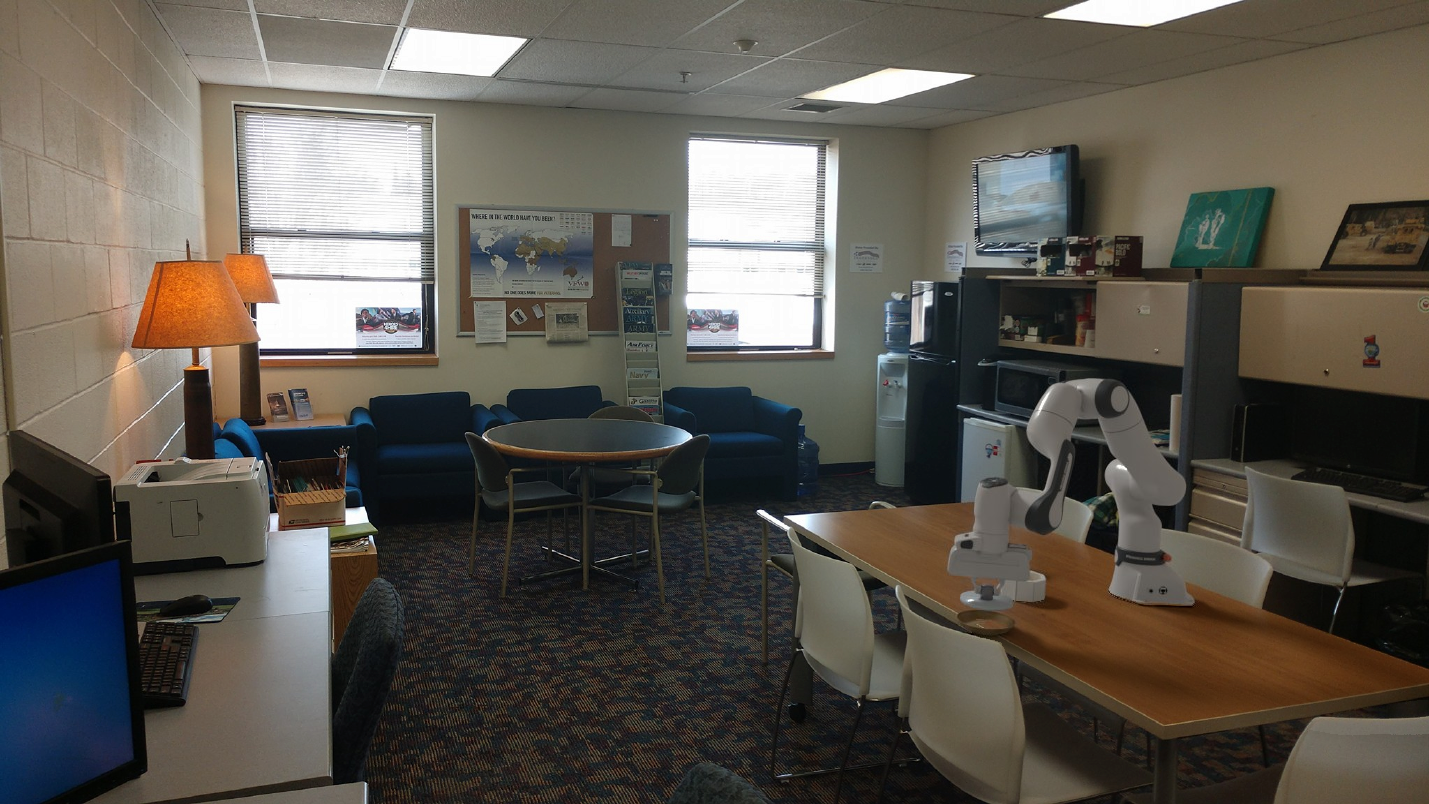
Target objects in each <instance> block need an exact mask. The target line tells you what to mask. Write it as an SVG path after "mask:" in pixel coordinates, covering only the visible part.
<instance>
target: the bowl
mask: <svg viewBox="0 0 1429 804" xmlns="http://www.w3.org/2000/svg"><path fill="white" fill-rule="evenodd" d="M1046 583H1047V577H1046V576H1045V575H1044V574H1042V573H1039V572H1036V571H1034V570H1030V578H1029V580H1028V581H1026V582H1024V581H1012V580H1005V584H1004V585H1003V587H1002V588H1001V589H1000V594H1003V595H1005V596H1008V597H1009V598H1011V599H1012V600H1014V601H1013V602H1016V601H1028V602H1034V601H1040V602H1042V601H1041V600H1044V599H1045V598H1046ZM1045 600H1046V599H1045ZM1045 600H1044V601H1045Z"/></svg>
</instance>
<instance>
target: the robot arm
mask: <svg viewBox="0 0 1429 804" xmlns="http://www.w3.org/2000/svg"><path fill="white" fill-rule="evenodd" d="M1078 419H1079V420H1097V419H1098V422H1099V423H1098V424H1099V426H1100V429H1101V431H1102V434H1103V436H1104V439H1105V441H1106V444H1107V446H1108V449H1109V451H1110V453H1111V454H1112V456H1113V457H1114V458H1116V459H1113V460H1112V461H1110V463H1109V464H1108V465H1107V467H1106V469H1105V471H1104V479H1105V480H1104V481H1105V483H1106V485H1107V486H1108V487H1109V489H1110V490H1111V492H1112V495H1113V497H1114V500H1115V503H1116V507H1117V513H1118V521H1119V522H1118V541H1117V544H1116V546H1115V549H1114V564H1115V566H1114V571H1113V576H1112V579H1111V583H1110V584H1109V585H1110V586H1109V588H1108V590H1109V591H1110V593H1112V594H1114V595H1116V596H1120V597H1122V598H1127V599H1130V600H1132V601H1136V602H1138V603H1166V604H1168V603H1169V604H1181V605H1192V604H1193V603H1195V598H1194V596H1192V595H1191V594H1190V593H1188V592H1187V585H1186V582H1185V579H1184V577H1182V576H1181V575H1180V574H1179V573H1178V572H1177V571H1176V570H1174V569H1173V568H1172V566H1170V565H1169V564H1167V563H1170V562H1171V561H1172V558H1173V556H1171V555H1170V554H1169V553H1167V552H1166V551H1164V550H1163V549H1161V541H1162V540H1161V539H1162V530H1163V529H1162V527H1163V526H1162V521H1161V519H1160V518H1159V516H1158V515H1157V514H1156V512H1155V510H1154V507H1153V505H1156V506H1165V507H1166V506H1170V507H1171V506H1174V505H1176V504H1179V503H1180V502H1181V501H1182V500H1183V498H1184V497H1185V494H1186V490H1187V483H1186V479H1185V477H1184V476H1183V475H1182V474H1181V473H1179V472H1178V471H1177V470H1176V469H1174V468H1173V467H1172V466H1171V464H1170V463H1169V462H1168V461H1167V460H1166V459H1165V457H1164V456H1163V454H1162V452H1160V450H1159V449H1158V448H1157V446H1156V444H1155V443H1154V441H1153V440H1152V437H1151V435H1150V433H1149V430H1148V428H1147V425H1146V423H1145V420H1144V418H1143V416H1142V413H1141V410H1140V408H1139V406H1138V404H1137V402H1136V400H1135V398H1134V397H1133V395H1132V393H1131V392H1130V391H1129V389H1127V386H1126V385H1125V384H1124V383H1123V382H1121V381H1120V380H1116V379H1112V378H1095V377H1094V378H1092V377H1091V378H1083V379H1082V378H1080V379H1067V380H1066V379H1065V380H1063V381H1060V382H1057V383H1053V384H1052V385H1050V386H1049V387H1048V388H1047V389H1046V391H1045V392H1044V394H1043V395H1042V396H1041V398H1040V399H1039V401H1038V403H1037V405H1036V406H1035V409H1034V410H1033V412H1032V414H1031V416H1030V418H1029V420H1028V422H1027V427H1026V437H1027V439H1028V441H1029V443H1030V444H1031V445H1032V446H1033V448H1034V449H1035V450H1037V452H1039V453H1040V454H1041V455H1043V456H1045V457H1046V458H1047V459H1050V468H1049V472H1048V475H1047V479H1046V484H1045V485H1044V486H1045V487H1044V489H1043V490H1042V491H1041V492H1033V491H1029V490H1026V489H1025V490H1024V489H1021V488H1017V487H1016V486H1015V487H1014V486H1013V485H1011V484H1010V481H1009V480H1008V479H1006V478H1003V477H1000V476H998V477H997V476H993V477H987V478H986V477H985V478H984V479H982V480H980V481H979V483H978V485H977V488H976V492H975V493H976V494H975V497H974V498H975V499H974V507H973V514H974V523H973V527H972V531H970V532H965V533H960V534H957V535H955V537H954V541H953V543H954V545H953V546H952V547H951V549H950V551H949V555H948V559H947V560H948V562H947V573H948V574H949V575H950V576H957V577H969V578H970V581H971V583H972V585H973V587H974V591H975V594H981V585H978V584H977V582H978V578H981V579H989V580H990V579H993V580H998V585H997V586H996V587H995V586H994V591H993V596H999V593H1000V594H1001V588H1002V587H1003V585H1004V584H1005V580H1012V581H1024V582H1026V581H1028V580H1029V578H1030V571H1031V569H1030V568H1031V567H1030V562H1031V561H1032V559H1033V550H1032V548H1031V547H1030V546H1027V544H1024V543H1022V544H1021V543H1020V544H1018V543H1012V542H1009V538H1010V527H1009V528H1008V525H1009V526H1013V527H1016V528H1019V529H1023V530H1028V531H1030V532H1032V533H1035V534H1038V535H1041V536H1045V535H1049V534H1051V533H1052V532H1054V531H1055V530H1057V529H1058V528H1059V527H1060V526H1061V523H1062V520H1063V514H1064V503H1065V499H1066V496H1067V495H1066V494H1067V491H1068V488H1069V484H1070V480H1071V476H1072V471H1073V467H1074V465H1075V457H1076V448H1075V445H1074V444H1073V442H1072V441H1071V440H1072V434H1073V430H1074V429H1075V426H1076V424H1077V422H1078ZM1110 593H1109V594H1110ZM1145 601H1146V602H1145ZM1195 604H1196V603H1195Z"/></svg>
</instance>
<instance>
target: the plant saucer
mask: <svg viewBox="0 0 1429 804" xmlns="http://www.w3.org/2000/svg"><path fill="white" fill-rule="evenodd" d="M955 618H956V620H957V622H958V623H959V625H961V626H962V628H964V630H967V631H969V632H971V633H973V634H977V635H983V636H999V635H998V634H1001V635H1004V634H1007V632H1009V631H1010V630H1012V628H1014V627H1015V626H1016V620H1015V619H1014V618H1012V616H1010V615H1007V614H1005V613H1002V612H1000V611H987V610H980V609H967V610H961V611H959V612H958V613H956V614H955ZM976 619H982V620H983V619H984V620H992V621H994V622H999V623H1001V624H1004V625H1005V626H1007V628H1004V629H986V628H980V627H979V625H975V624H985V623H983V622H986V621H978V620H976ZM980 622H982V623H980ZM1003 633H1004V634H1003Z"/></svg>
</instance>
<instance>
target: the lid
mask: <svg viewBox="0 0 1429 804" xmlns="http://www.w3.org/2000/svg"><path fill="white" fill-rule="evenodd" d="M980 586H981V594H975V590H968V591H965V592H962V593H960V596H959V597H960V598H959V600H960V602H961V603H962V604H963V605H964V606H967V607H970V608H973V609H975V610H987V611H995V612H1002V611H1006V610H1010V609H1012V608H1013V605H1014V601H1013V600H1012V599H1011V598H1009V597H1008V596H1005V595H1003V594H1001V592H1000V593H999V596H993V591H994V587H995V585H994V584H991V583H981V584H980Z"/></svg>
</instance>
